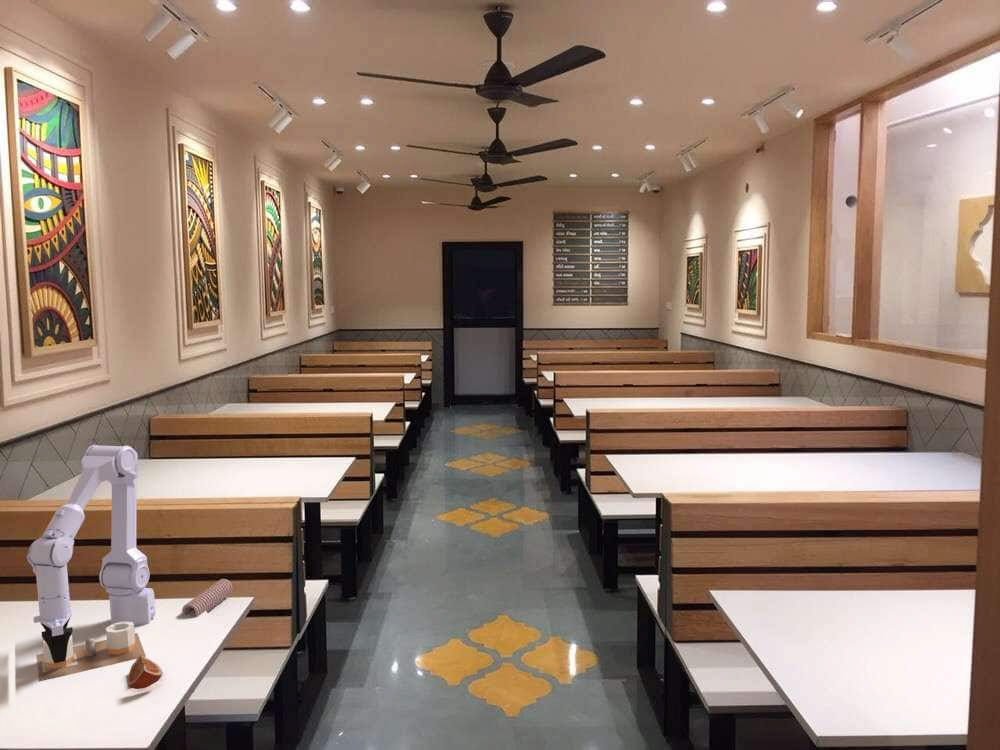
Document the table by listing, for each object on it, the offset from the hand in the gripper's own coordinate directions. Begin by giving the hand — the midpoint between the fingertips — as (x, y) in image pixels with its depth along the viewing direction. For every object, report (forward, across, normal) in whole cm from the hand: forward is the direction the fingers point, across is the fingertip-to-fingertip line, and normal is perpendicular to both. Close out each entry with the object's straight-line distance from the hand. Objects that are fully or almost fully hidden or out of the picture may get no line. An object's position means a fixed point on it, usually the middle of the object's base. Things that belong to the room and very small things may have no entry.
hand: (59, 656), depth 172 cm
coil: (+3, -17, +34) cm, 38 cm away
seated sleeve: (+2, 0, +12) cm, 12 cm away
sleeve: (+1, 0, 0) cm, 1 cm away
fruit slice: (+3, +17, +14) cm, 23 cm away
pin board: (+3, 0, +6) cm, 7 cm away
